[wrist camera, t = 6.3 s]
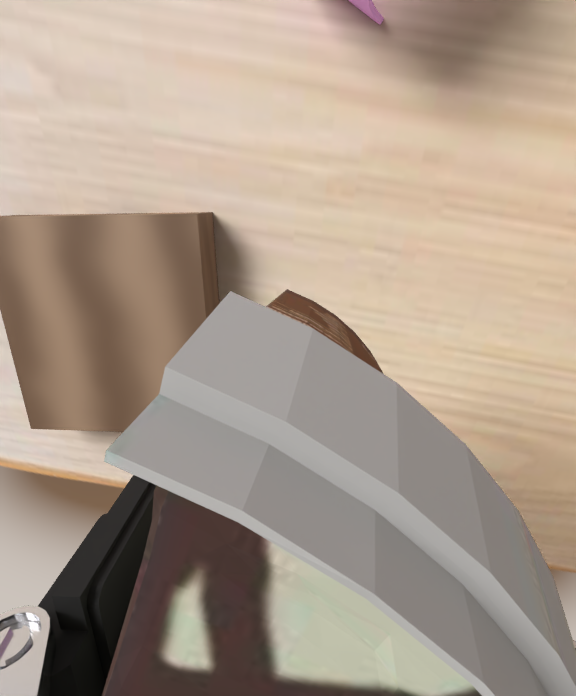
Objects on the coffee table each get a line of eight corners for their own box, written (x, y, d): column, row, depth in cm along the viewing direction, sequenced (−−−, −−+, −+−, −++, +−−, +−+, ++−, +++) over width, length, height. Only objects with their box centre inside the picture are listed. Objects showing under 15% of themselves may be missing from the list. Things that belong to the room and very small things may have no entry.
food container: (347, 612, 16) (355, 1229, 6) (195, 555, 16) (-30, 1078, 6) (512, 315, 11) (1323, 808, 2) (303, 239, 11) (123, 366, 2)
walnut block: (214, 212, 28) (197, 213, 24) (228, 408, 33) (216, 434, 29) (21, 215, 29) (-24, 216, 25) (63, 403, 34) (31, 428, 30)
